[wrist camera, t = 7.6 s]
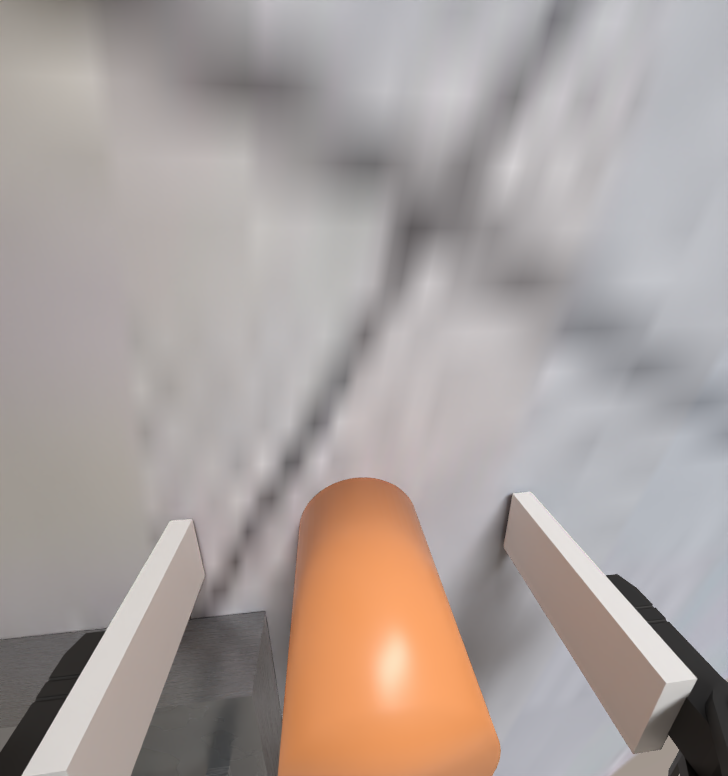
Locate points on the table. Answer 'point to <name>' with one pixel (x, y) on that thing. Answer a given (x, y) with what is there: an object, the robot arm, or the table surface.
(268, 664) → the breaker panel
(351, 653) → the cap
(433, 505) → the table surface
